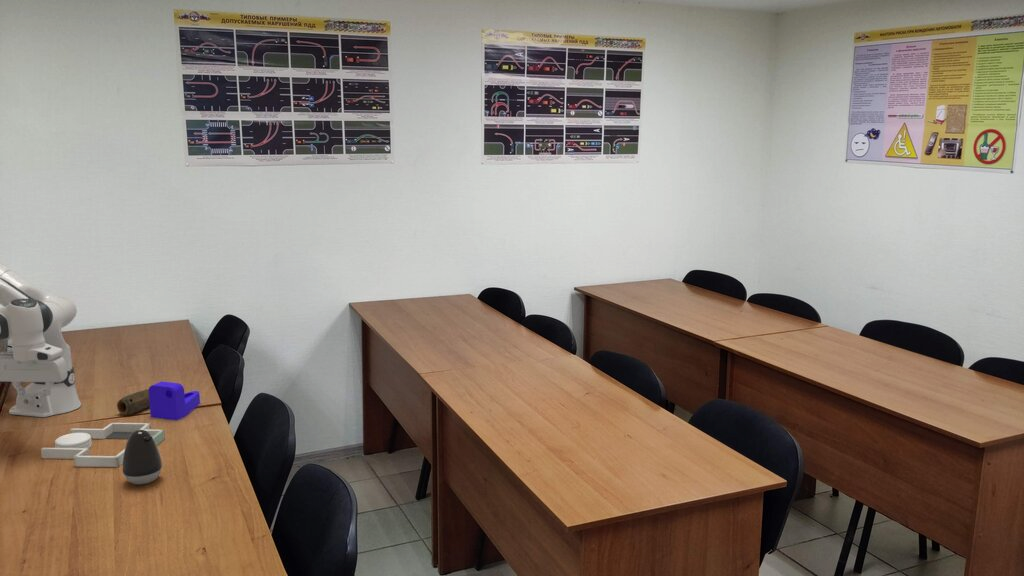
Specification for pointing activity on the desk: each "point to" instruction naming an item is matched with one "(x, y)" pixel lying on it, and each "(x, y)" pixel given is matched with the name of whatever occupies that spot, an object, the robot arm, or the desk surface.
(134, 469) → the dark grey egg shape
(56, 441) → the coaster
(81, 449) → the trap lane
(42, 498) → the desk surface
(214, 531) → the desk surface
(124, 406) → the brown hollow cylinder
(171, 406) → the bracket
